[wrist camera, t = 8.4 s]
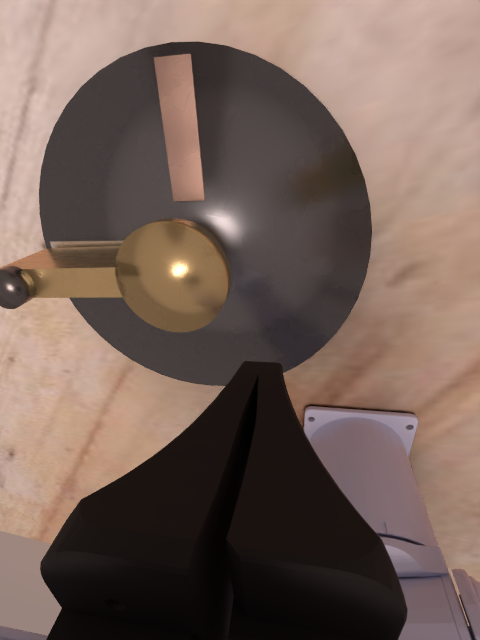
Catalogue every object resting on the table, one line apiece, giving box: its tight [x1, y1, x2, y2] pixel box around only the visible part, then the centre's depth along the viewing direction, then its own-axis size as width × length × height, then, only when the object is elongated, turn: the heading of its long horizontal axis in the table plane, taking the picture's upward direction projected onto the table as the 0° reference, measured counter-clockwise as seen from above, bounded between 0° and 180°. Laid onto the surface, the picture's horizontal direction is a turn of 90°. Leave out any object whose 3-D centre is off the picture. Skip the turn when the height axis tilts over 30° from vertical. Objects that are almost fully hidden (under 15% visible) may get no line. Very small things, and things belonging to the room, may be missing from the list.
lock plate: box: [39, 42, 372, 386], centre depth 19 cm, size 20×20×4 cm
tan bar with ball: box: [0, 218, 231, 332], centre depth 18 cm, size 12×6×5 cm, turn 94°
